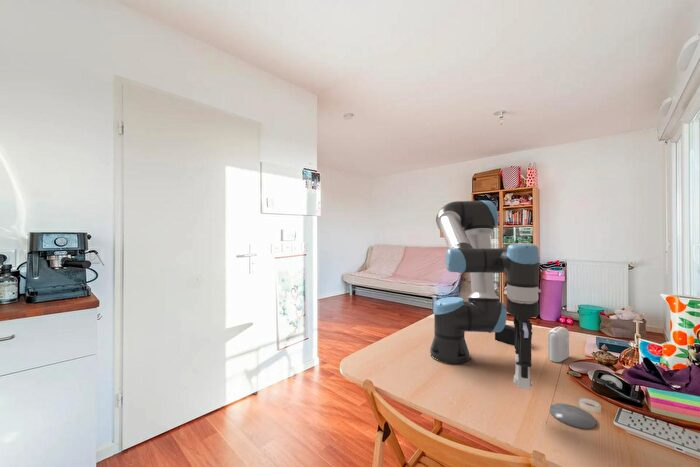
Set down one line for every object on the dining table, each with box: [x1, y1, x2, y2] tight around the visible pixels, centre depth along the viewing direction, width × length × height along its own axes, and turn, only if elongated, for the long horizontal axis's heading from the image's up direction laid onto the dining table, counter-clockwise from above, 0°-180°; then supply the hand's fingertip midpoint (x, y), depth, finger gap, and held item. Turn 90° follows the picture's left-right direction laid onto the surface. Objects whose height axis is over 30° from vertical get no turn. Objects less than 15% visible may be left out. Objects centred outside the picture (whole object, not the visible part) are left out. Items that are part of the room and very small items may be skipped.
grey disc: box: [549, 402, 597, 430], centre depth 80 cm, size 10×10×1 cm
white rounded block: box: [547, 326, 570, 363], centre depth 115 cm, size 10×4×12 cm, turn 123°
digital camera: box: [494, 324, 515, 346], centre depth 132 cm, size 10×5×7 cm, turn 37°
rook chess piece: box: [512, 354, 533, 388], centre depth 81 cm, size 4×4×8 cm
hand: (522, 382), depth 81 cm, fingers closed on rook chess piece, 4 cm apart
